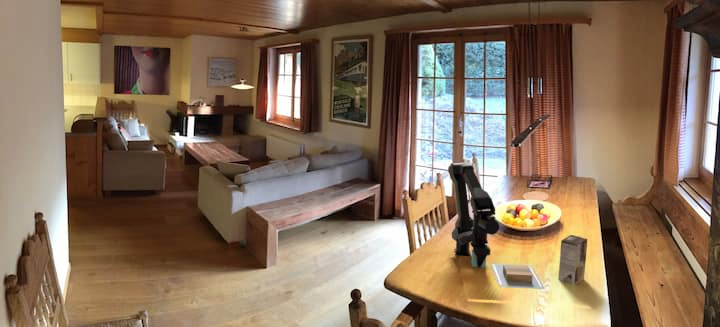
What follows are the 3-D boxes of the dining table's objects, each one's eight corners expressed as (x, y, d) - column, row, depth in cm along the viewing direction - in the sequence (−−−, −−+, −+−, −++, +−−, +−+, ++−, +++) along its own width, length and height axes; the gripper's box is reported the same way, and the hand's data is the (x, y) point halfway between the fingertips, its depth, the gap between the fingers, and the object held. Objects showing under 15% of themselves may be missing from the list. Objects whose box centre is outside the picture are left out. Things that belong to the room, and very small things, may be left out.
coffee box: (567, 274, 190) (570, 234, 187) (584, 279, 185) (588, 238, 183) (557, 281, 184) (560, 239, 181) (574, 286, 179) (578, 244, 176)
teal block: (471, 264, 200) (471, 249, 199) (483, 264, 199) (484, 250, 198) (472, 268, 195) (473, 254, 194) (485, 269, 195) (486, 254, 194)
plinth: (502, 272, 190) (503, 264, 189) (526, 273, 189) (527, 266, 188) (506, 281, 181) (507, 274, 180) (532, 283, 180) (532, 275, 179)
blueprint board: (490, 265, 199) (490, 263, 198) (531, 267, 197) (531, 265, 197) (498, 288, 177) (498, 286, 177) (544, 291, 175) (545, 288, 175)
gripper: (457, 219, 204) (456, 254, 207) (461, 233, 186) (459, 272, 189) (485, 220, 203) (483, 256, 206) (491, 234, 185) (489, 273, 188)
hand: (478, 264), depth 197 cm, fingers closed on teal block, 5 cm apart
